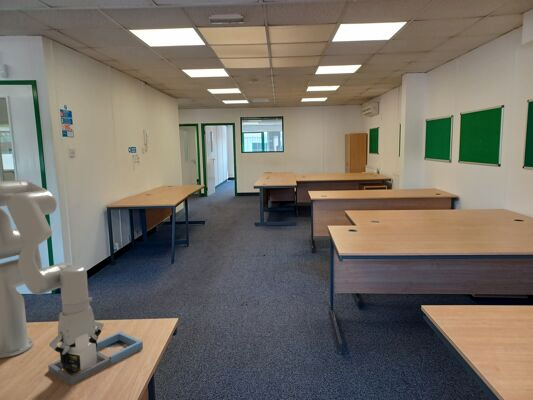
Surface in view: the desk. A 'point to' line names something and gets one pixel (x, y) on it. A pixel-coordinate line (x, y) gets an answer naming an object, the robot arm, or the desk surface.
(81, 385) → the desk surface
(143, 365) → the desk surface
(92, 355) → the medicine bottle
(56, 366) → the frame
